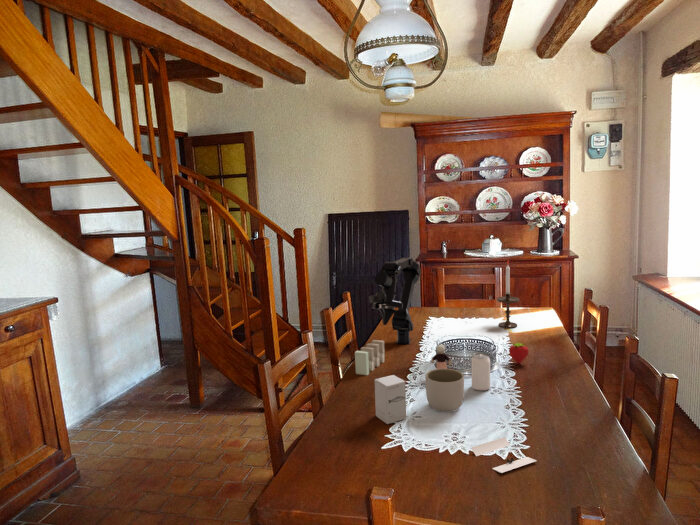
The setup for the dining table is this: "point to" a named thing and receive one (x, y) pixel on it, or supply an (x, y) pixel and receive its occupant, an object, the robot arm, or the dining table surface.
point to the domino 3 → (380, 349)
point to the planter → (445, 389)
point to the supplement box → (390, 399)
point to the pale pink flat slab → (497, 445)
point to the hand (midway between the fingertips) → (384, 324)
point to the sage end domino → (362, 362)
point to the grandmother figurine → (441, 358)
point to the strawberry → (518, 352)
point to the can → (480, 372)
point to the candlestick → (507, 301)
